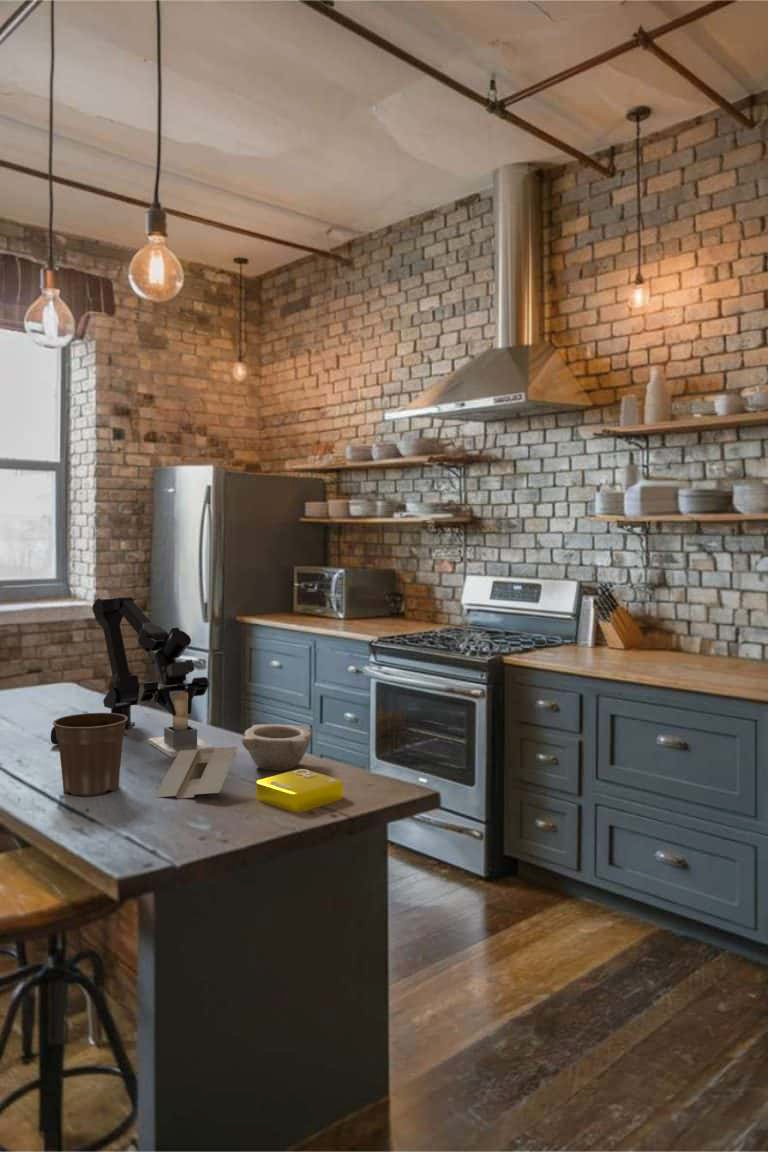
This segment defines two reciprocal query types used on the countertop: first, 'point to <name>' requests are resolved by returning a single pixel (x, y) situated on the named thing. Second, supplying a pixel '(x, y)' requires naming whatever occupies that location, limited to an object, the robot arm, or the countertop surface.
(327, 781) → the element tile
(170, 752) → the post socket base
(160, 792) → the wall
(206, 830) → the countertop surface
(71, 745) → the plant pot
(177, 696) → the rail post
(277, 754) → the mortar
